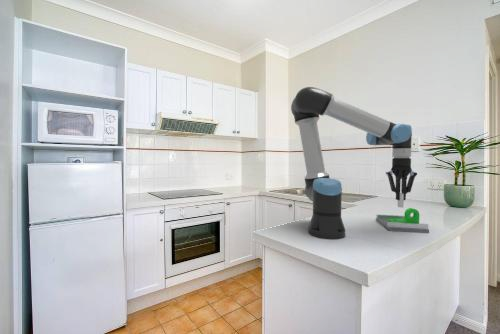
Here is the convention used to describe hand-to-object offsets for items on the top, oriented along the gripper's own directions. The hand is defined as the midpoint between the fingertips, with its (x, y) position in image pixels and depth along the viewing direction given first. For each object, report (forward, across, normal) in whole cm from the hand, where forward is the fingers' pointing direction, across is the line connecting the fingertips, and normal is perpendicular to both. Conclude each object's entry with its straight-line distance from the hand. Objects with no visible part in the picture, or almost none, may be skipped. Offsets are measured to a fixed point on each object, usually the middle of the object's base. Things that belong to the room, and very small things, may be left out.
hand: (400, 206), depth 113 cm
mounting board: (+9, 0, 0) cm, 9 cm away
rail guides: (+8, 0, 0) cm, 8 cm away
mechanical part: (+8, 0, -2) cm, 8 cm away
